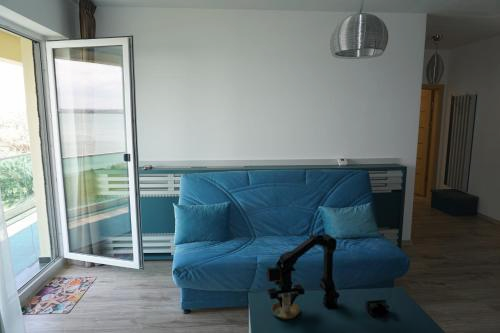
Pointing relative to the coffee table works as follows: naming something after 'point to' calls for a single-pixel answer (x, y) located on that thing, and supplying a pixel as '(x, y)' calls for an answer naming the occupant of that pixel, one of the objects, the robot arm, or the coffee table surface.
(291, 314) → the plant saucer
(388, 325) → the coffee table surface
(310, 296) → the coffee table surface
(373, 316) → the end cap
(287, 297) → the taupe streaky block
